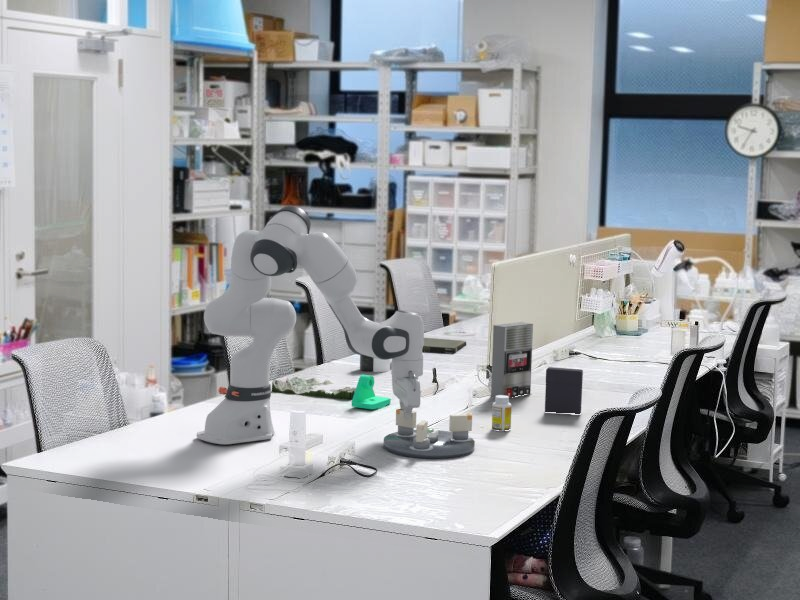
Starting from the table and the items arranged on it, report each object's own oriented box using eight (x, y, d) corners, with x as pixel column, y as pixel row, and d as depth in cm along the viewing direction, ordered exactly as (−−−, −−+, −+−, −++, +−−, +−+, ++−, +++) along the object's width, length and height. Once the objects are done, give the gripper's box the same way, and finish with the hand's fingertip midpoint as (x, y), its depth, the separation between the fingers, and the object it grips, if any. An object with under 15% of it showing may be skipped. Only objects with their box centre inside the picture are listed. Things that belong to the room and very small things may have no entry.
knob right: (452, 440, 322) (453, 417, 322) (447, 436, 327) (448, 413, 326) (473, 439, 324) (473, 416, 323) (468, 435, 328) (468, 413, 327)
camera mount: (372, 412, 366) (373, 380, 364) (351, 409, 369) (352, 377, 368) (391, 406, 376) (392, 374, 375) (371, 403, 380) (371, 371, 378)
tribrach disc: (431, 464, 306) (431, 444, 305) (364, 446, 323) (364, 427, 322) (493, 448, 323) (493, 430, 323) (426, 432, 341) (427, 415, 340)
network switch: (402, 357, 469) (402, 345, 468) (411, 348, 492) (411, 336, 491) (460, 360, 465) (460, 348, 464) (467, 351, 488) (467, 339, 487)
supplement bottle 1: (370, 370, 435) (371, 338, 434) (382, 373, 430) (382, 341, 429) (356, 372, 431) (356, 340, 430) (367, 375, 426) (367, 342, 424)
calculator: (581, 416, 367) (583, 369, 365) (579, 419, 363) (581, 371, 361) (546, 413, 370) (548, 366, 368) (544, 416, 366) (546, 368, 364)
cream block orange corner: (418, 433, 329) (419, 411, 328) (409, 436, 326) (409, 413, 325) (402, 430, 333) (402, 407, 332) (392, 432, 329) (392, 410, 329)
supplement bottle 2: (509, 428, 348) (511, 394, 347) (511, 433, 342) (512, 398, 341) (490, 428, 348) (492, 394, 347) (492, 432, 342) (493, 398, 341)
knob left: (416, 443, 318) (416, 420, 317) (432, 444, 317) (432, 421, 316) (410, 448, 312) (411, 425, 311) (426, 450, 311) (427, 426, 310)
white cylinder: (396, 372, 432) (397, 339, 430) (378, 374, 425) (379, 341, 424) (379, 368, 438) (379, 336, 436) (361, 371, 431) (362, 338, 430)
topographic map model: (320, 377, 425) (320, 363, 424) (394, 385, 413) (395, 371, 413) (271, 394, 392) (271, 379, 391) (351, 403, 381) (351, 388, 380)
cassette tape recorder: (503, 403, 384) (506, 327, 381) (490, 400, 389) (492, 325, 386) (532, 398, 393) (535, 324, 390) (518, 395, 398) (521, 321, 395)
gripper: (426, 375, 318) (425, 425, 319) (410, 362, 338) (408, 409, 339) (404, 375, 316) (402, 425, 318) (388, 362, 336) (387, 409, 338)
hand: (405, 417), depth 329 cm, fingers closed on cream block orange corner, 3 cm apart
